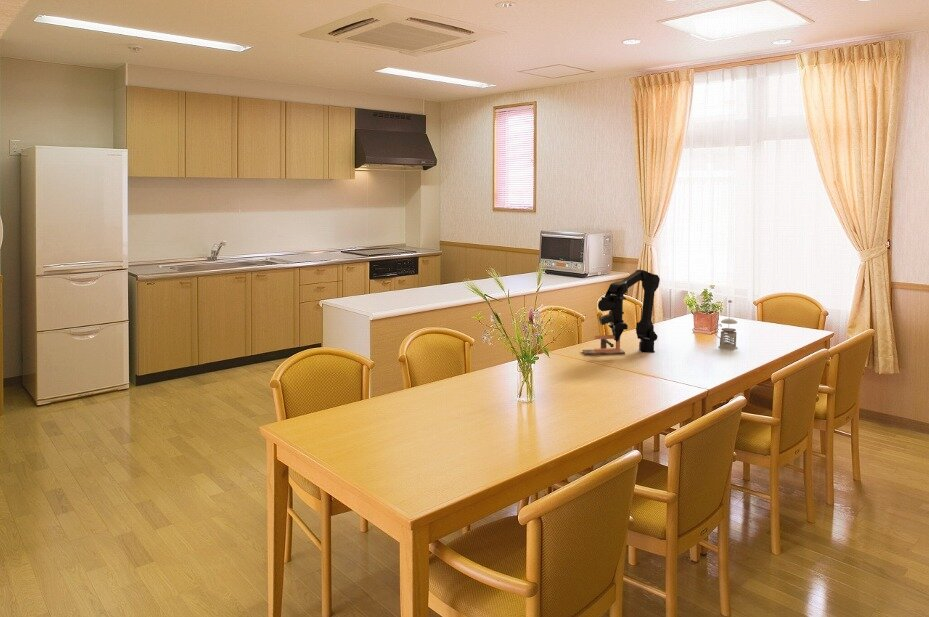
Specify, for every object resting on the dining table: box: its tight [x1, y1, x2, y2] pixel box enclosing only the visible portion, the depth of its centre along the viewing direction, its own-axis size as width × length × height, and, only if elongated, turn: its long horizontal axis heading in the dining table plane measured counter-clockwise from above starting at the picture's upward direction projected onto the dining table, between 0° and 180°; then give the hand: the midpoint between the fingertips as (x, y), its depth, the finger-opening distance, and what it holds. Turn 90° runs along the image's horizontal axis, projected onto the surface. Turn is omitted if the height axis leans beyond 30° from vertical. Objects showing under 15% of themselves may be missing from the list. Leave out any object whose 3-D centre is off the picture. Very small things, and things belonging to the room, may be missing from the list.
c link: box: [593, 334, 621, 353], centre depth 344 cm, size 12×2×8 cm, turn 93°
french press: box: [714, 299, 738, 351], centre depth 364 cm, size 10×12×25 cm
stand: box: [581, 339, 626, 356], centre depth 349 cm, size 20×21×8 cm
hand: (616, 340), depth 344 cm, fingers closed on c link, 2 cm apart
